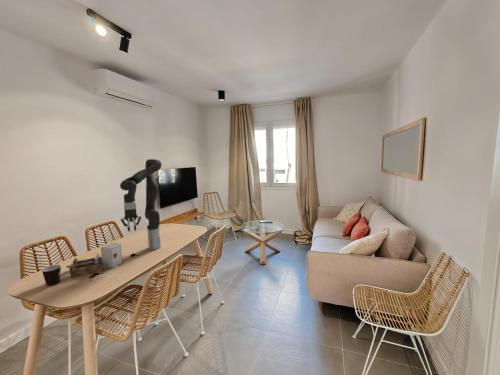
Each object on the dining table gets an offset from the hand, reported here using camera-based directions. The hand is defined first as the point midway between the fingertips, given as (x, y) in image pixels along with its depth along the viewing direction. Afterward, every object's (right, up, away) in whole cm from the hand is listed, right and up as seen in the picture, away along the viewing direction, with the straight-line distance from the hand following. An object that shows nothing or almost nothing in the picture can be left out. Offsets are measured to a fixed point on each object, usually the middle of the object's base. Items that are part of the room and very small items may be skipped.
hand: (132, 230), depth 161 cm
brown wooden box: (-23, -25, -9) cm, 35 cm away
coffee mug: (-34, -27, -28) cm, 52 cm away
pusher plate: (-27, -25, -11) cm, 38 cm away
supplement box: (-12, -24, -3) cm, 27 cm away
